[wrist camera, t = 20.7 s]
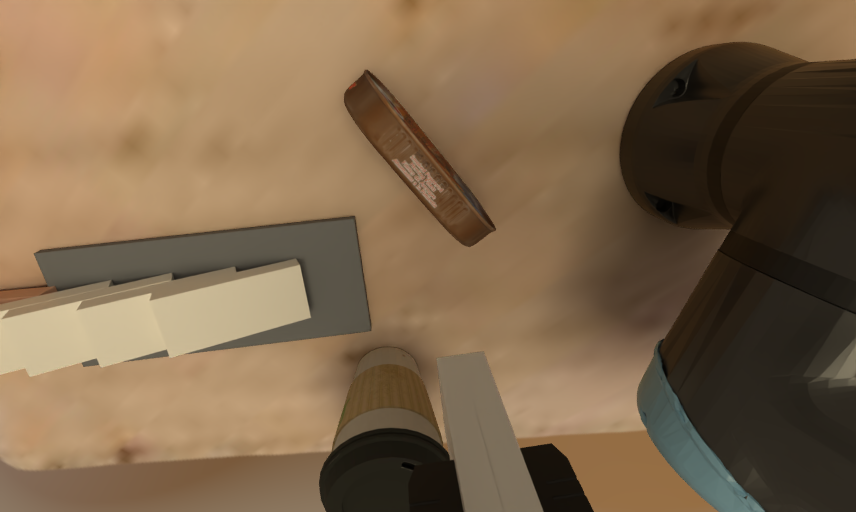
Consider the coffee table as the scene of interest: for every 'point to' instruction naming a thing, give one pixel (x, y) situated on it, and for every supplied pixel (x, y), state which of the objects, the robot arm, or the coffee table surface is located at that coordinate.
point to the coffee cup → (381, 437)
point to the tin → (416, 160)
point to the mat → (245, 249)
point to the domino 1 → (24, 293)
